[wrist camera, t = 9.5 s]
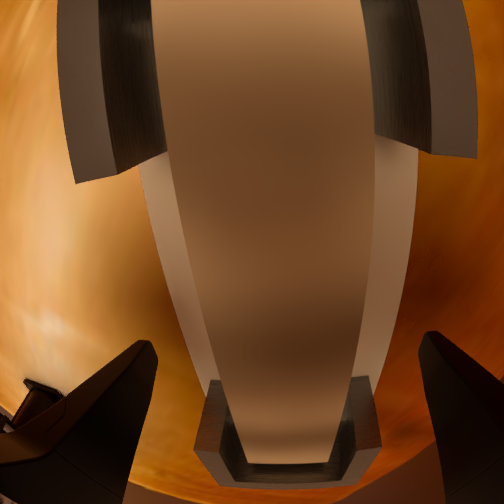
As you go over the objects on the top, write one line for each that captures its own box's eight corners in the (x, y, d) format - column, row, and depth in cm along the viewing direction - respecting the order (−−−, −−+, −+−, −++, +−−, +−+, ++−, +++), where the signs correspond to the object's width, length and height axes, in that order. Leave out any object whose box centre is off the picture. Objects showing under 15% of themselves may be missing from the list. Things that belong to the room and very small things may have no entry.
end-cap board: (356, 416, 18) (358, 432, 17) (224, 419, 20) (221, 435, 18) (380, -29, 6) (392, -43, 5) (136, -6, 8) (120, -16, 6)
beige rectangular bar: (325, 414, 16) (327, 461, 13) (253, 415, 16) (248, 463, 13) (330, 15, 7) (354, -26, 4) (193, 28, 7) (150, -4, 4)
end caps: (351, 429, 17) (356, 484, 13) (229, 431, 18) (219, 485, 14) (378, -32, 5) (426, -89, 1) (136, -9, 7) (63, -47, 3)
